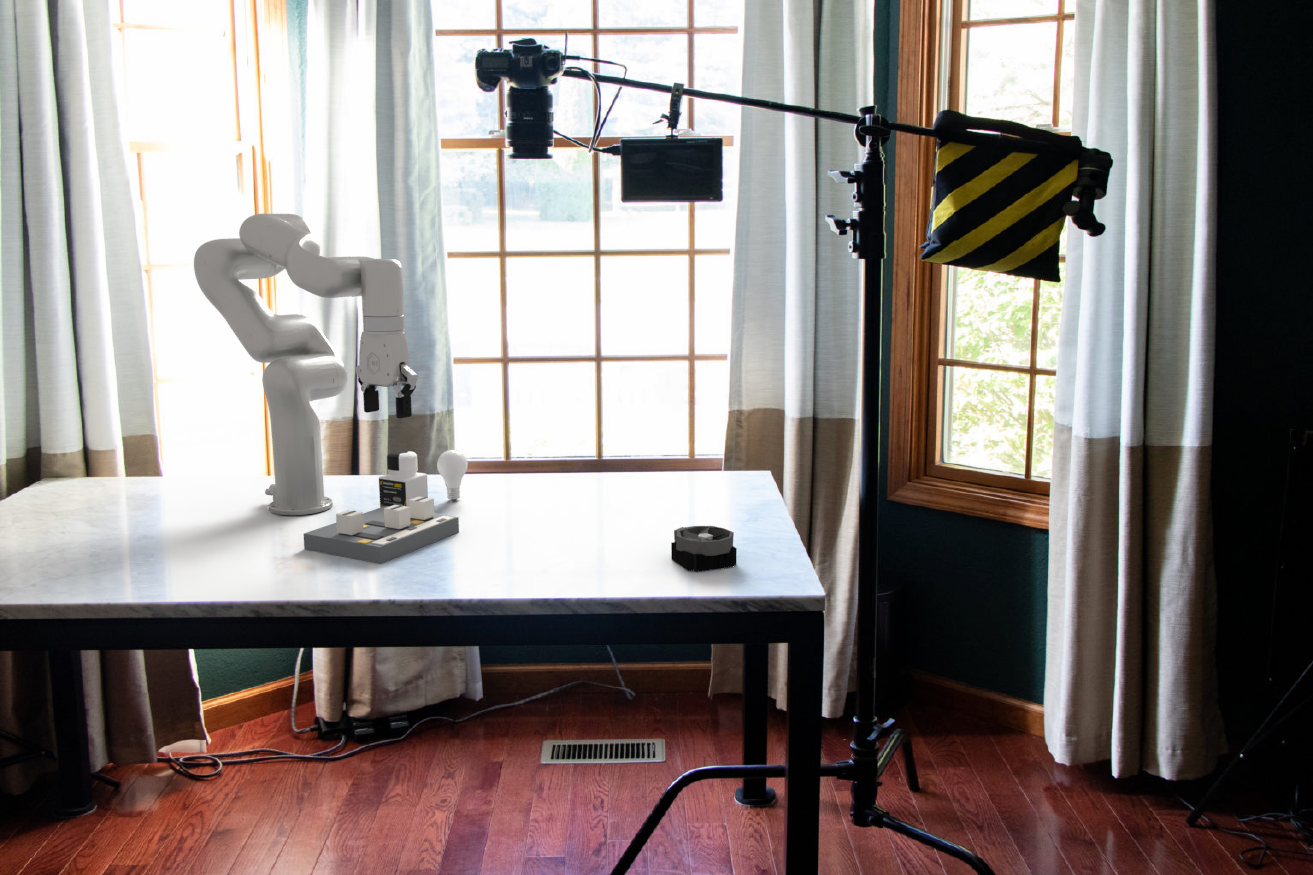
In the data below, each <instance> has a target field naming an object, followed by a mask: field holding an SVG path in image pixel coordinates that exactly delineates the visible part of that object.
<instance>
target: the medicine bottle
mask: <svg viewBox="0 0 1313 875" xmlns="http://www.w3.org/2000/svg"><path fill="white" fill-rule="evenodd" d="M386 460H387V463H386V464H387V473H388V474H384V475H381V476H379V477H378V488H379V489H378V490H379V491H378V493H379V506H380V507H379V508H381V507H384V506H389V507H390V506H392V505H403V506H407V507H409V500H410V499H413V498H416V497H419V496H420V497H428V498H429V492H428V490H429V488H428V474H427V473H424V472H418V470H419V469H418V454H417V453H416V452H415V451H412V450H396V451H395V450H394V451H392V452H389V453H388V454H387V456H386Z"/></svg>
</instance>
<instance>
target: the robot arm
mask: <svg viewBox="0 0 1313 875" xmlns="http://www.w3.org/2000/svg"><path fill="white" fill-rule="evenodd" d="M238 236H239V238H217V239H213V240H210V241H206V242H204V243H202V244H201V245H200V246H198V248H197V250H196V251H195V253H194V257H193V269H194V275H195V279H196V281H197V284H198V286H199V289H200V290H201V292H202V293H203V295H204V296H205V298H206V299H207V300H208V302H210V304H211V305H212V306H213V307H214V308H215V309H216V310H217V311H218V312H219V313H220V315H221V316H222V317H223V318H224V320H225V322H226V323H227V325H228V326H229V328H230V329H231V331H232V332H233V334H234V335H235V337H236V338H237V339H238V341H239V342H240V343H241V345H242V346H243V348H244V349H245V351H246V352H247V353H248V355H249V356H250V357H251V358H252V359H253V360H254V361H256V362H258V363H262V364H263V363H265V364H267V366H266V367H265V368H264V370H263V373H262V379H261V380H262V387H263V391H264V394H265V395H264V396H265V398H266V402H267V406H268V412H269V419H270V430H271V440H272V441H271V442H272V456H273V458H272V459H273V470H274V471H273V472H274V482H275V483H272V484H270V485H269V486H268V487H269V488H265V490H264V494H265V495H266V496H272V501H271V502H270V503H269V504H268V511H269V512H271V513H272V514H274V515H281V516H306V515H312V514H317V513H321V512H325V511H327V510H329V509H331V508H332V507H333V505H334V504H333V499H331V498H330V497H328V496H325V486H324V472H323V471H324V469H323V455H322V437H321V425H320V421H319V417H318V416H317V414H316V412H315V411H314V408H313V407H312V406H311V404H310V402H313V401H317V400H324V399H329V398H332V397H336V396H338V395H340V394H341V393H342V392H344V391H345V389H346V387H347V382H348V372H347V369H346V366H345V364H344V362H343V360H342V358H341V357H340V356H339V354H338V352H337V351H336V350H335V348H334V347H333V346H332V344H331V342H330V341H329V340H328V339H327V337H326V336H325V334H324V332H323V331H322V330H321V329H320V327H319V326H318V324H316V322H315V321H313V319H311V318H309V317H307V316H305V315H303V314H298V313H297V314H294V313H293V314H277V313H274V312H273V311H272V310H271V309H270V308H269V306H268V305H267V304H266V302H265V301H264V299H263V298H262V297H261V296H260V295H259V294H258V293H257V292H256V291H254V290H253V289H252V288H250V287H249V286H247V285H245V283H242V282H241V280H257V279H258V280H260V279H268V278H272V277H275V276H276V275H278V274H280V273H281V272H282V271H284V270H285V271H286V273H287V275H288V277H289V278H290V280H291V281H292V284H294V285H295V286H296V287H298V288H300V289H302V290H304V291H306V292H308V293H310V294H311V295H312V294H313V295H314V296H317V297H321V298H326V299H337V298H347V297H348V298H349V297H352V298H353V297H361V304H362V305H361V307H362V308H361V309H362V326H363V331H362V332H361V334H360V341H359V342H360V343H359V351H358V352H359V353H358V354H359V355H358V357H359V358H358V359H359V360H358V362H359V363H358V365H357V366H356V367H355V370H354V371H355V373H356V376H357V380H358V383H359V385H360V390H361V392H362V393H363V394H362V398H363V411H364V413H366V414H367V413H372V412H373V413H374V412H378V411H379V410H380V396H379V395H380V394H379V389H378V390H377V388H378V387H385V388H390V387H393V390H394V391H395V393H396V395H397V397H395V416H396V418H397V419H405V418H409V417H412V414H413V411H412V397H413V396H414V391H415V390H416V389H417V386H416V385H417V382H418V379H419V375H418V374H417V372H415V371H414V370H413V369H412V368H410V367H411V366H410V353H409V346H408V342H407V341H408V340H407V335H406V333H405V315H404V314H405V312H404V311H405V310H404V291H403V289H404V288H403V269H402V268H403V267H402V264H401V262H400V261H399V260H397V259H395V258H374V257H373V258H372V257H370V256H330V257H325V256H322V255H320V254H321V246H320V243H319V241H318V238H317V237H316V235H314V234H313V230H312V228H311V225H310V224H309V222H308V221H307V220H306V219H305V218H303V217H302V216H300V215H297V214H294V213H257V214H253V215H251V216H248V217H247V218H246V219H245V220H243V222H242V223H241V225H240V227H239V234H238ZM268 363H269V364H268ZM402 387H403V388H402Z"/></svg>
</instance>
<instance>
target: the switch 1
mask: <svg viewBox="0 0 1313 875" xmlns="http://www.w3.org/2000/svg"><path fill="white" fill-rule="evenodd" d="M335 518H336V522H337V533H342V534H348V535H354V534H357V533H360V532H362V531H363V512H362V511H357V510H349V509H347V510H345V511H344V510H343V511H341V512H337V513H336V514H335ZM336 522H335V523H336Z"/></svg>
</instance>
